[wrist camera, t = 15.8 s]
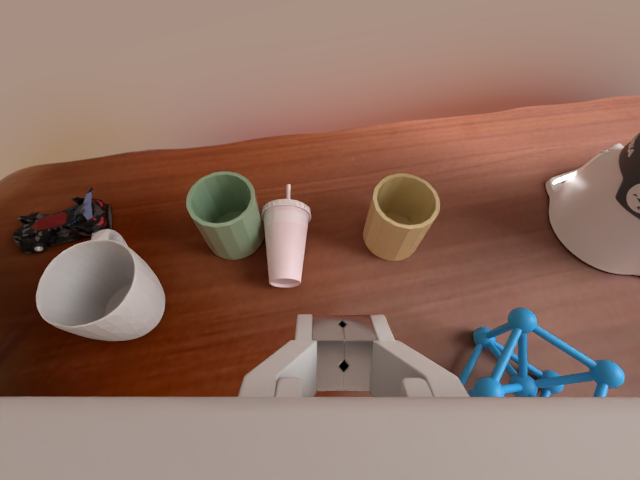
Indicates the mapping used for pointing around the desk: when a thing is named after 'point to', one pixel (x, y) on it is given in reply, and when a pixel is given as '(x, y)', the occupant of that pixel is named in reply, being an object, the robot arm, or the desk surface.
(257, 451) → the robot arm
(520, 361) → the molecular structure
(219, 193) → the sage cup
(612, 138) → the desk surface
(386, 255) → the tan cup
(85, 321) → the mug
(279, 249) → the smoothie
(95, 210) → the toy car
